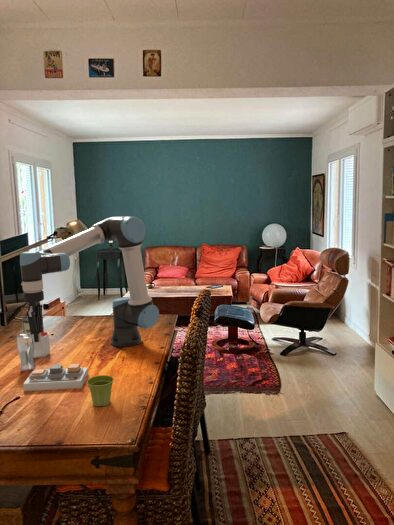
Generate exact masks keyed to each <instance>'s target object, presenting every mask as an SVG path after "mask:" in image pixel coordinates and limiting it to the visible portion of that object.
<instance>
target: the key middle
mask: <svg viewBox="0 0 394 525" xmlns="http://www.w3.org/2000/svg"><path fill="white" fill-rule="evenodd" d="M63 367H64V366H63V364H52V365H51V366H50V368H49V369H50V373H52V372H61V370H62V369H63Z"/></svg>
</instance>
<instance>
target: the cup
mask: <svg viewBox="0 0 394 525" xmlns="http://www.w3.org/2000/svg"><path fill="white" fill-rule="evenodd" d="M40 333H41V339H42V349H41V350H34V359H39V358H44V357H46V356H49V354H50V352H51V345H50V344H51V343H50V334H49V332H47V331H44V332H40Z"/></svg>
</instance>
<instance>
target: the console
mask: <svg viewBox="0 0 394 525" xmlns="http://www.w3.org/2000/svg"><path fill="white" fill-rule="evenodd" d="M44 369H45V368H44ZM34 370H35V369H33V371H31V373H30V374H29V376H28V377H27V378H26V380H25V381H24V382H23V384H22V385H23V391H24V392H32V391H33V392H34V391H49V390H51V391H53V390H69V389H82V388H83V386H84V383H85V381H86V379H87V377H88V375H89V367H85V366H84V367H80V368H79V370H78V371H71V372H68V367H67V368H66V367H65V368H63V369H62V370H61V372H52V373H50V368H49V369H48V368H47V369H45V373H44V374H43V375H32V373H33V372H34Z"/></svg>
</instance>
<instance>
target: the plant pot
mask: <svg viewBox="0 0 394 525" xmlns="http://www.w3.org/2000/svg"><path fill="white" fill-rule="evenodd" d="M114 381H115V378H114V377H113V376H111V375H105V374H100V375H95V376H92V377H89V378H88V379H87V381H86V384H87V386H88V388H89V391H90V397H91V401H92V405H93V406H94V407H105V406H108V405H109V404H110V403H111V400H112V399H111V398H112V389H113V388H112V386H113V382H114Z"/></svg>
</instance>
